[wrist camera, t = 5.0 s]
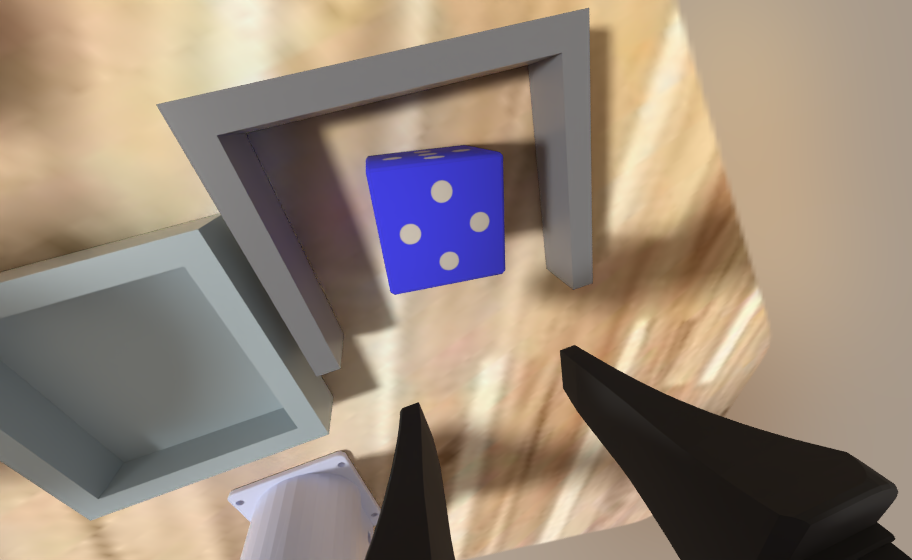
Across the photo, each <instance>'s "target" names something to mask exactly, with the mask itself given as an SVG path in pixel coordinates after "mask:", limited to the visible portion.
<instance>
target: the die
mask: <svg viewBox="0 0 912 560" xmlns="http://www.w3.org/2000/svg"><path fill="white" fill-rule="evenodd" d="M366 175H367V180H368V185H369V190H370V195H371V200H372V204H373V209H374V214H375V219H376V224H377V229H378V233H379V238H380V243H381V248H382V253H383V258H384V263H385V267H386V272H387V277H388V282H389V287H390V292H391V293H393V294H394V295H396V294H401V293H406V292H411V291H416V290H422V289H427V288H432V287H437V286H442V285H447V284H452V283H457V282H462V281H468V280H473V279H478V278H483V277H488V276H493V275H498V274H502V273H503V272H504V271H505V234H504V182H503V155H502V154H501V153H500V152H497V151H492V150H487V149H482V148H477V147H472V146H467V145H461V146H452V147H443V148H435V149H426V150H418V151H409V152H400V153H392V154H383V155H374V156H368V157H367V159H366Z"/></svg>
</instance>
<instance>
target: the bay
mask: <svg viewBox="0 0 912 560" xmlns="http://www.w3.org/2000/svg"><path fill="white" fill-rule="evenodd" d="M527 65H528V70H529V81H530V92H531V103H532V114H533V125H534V137H535V148H536V159H537V170H538V181H539V192H540V203H541V214H542V225H543V236H544V247H545V258H546V269H548V270H549V271H550V272H551V273H553V274H554V275H555V276H556V277H558V278H559V279H560V280H561V281H563V282H564V283H565V284H567V285H568V286H569V287H570V288H572V289H573V290H574V289H577V288H580V287H583V286H586V285H589V284H592V283H593V273H592V193H591V113H590V33H589V8H586V9H581V10H577V11H572V12H568V13H563V14H559V15H555V16H550V17H546V18H541V19H537V20H532V21H528V22H523V23H519V24H514V25H510V26H505V27H501V28H496V29H492V30H487V31H483V32H478V33H474V34H470V35H465V36H461V37H456V38H452V39H447V40H443V41H438V42H434V43H429V44H425V45H420V46H416V47H411V48H407V49H402V50H398V51H393V52H389V53H385V54H380V55H376V56H371V57H367V58H362V59H358V60H353V61H349V62H344V63H340V64H335V65H331V66H326V67H322V68H317V69H313V70H308V71H304V72H300V73H295V74H291V75H286V76H282V77H277V78H273V79H268V80H264V81H259V82H255V83H250V84H246V85H241V86H237V87H232V88H228V89H223V90H219V91H214V92H210V93H206V94H201V95H197V96H192V97H188V98H183V99H179V100H174V101H170V102H165V103H161V104H156V105H157V107H158V109H159V110H160V112H161V114H162V115H163V117H164V119H165V120H166V122H167V124H168V125H169V127H170V129H171V131H172V132H173V134H174V136H175V137H176V139H177V141H178V142H179V144H180V146H181V148H182V149H183V151H184V153H185V154H186V156H187V158H188V159H189V161H190V163H191V165H192V166H193V168H194V170H195V171H196V173H197V175H198V176H199V178H200V180H201V181H202V183H203V185H204V187H205V188H206V190H207V192H208V193H209V195H210V197H211V198H212V200H213V202H214V204H215V205H216V207H217V209H218V210H219V212H220V214H221V215H222V217H223V219H224V220H225V222H226V224H227V226H228V227H229V229H230V231H231V232H232V234H233V236H234V237H235V239H236V241H237V243H238V244H239V246H240V248H241V249H242V251H243V253H244V254H245V256H246V258H247V260H248V261H249V263H250V265H251V266H252V268H253V270H254V271H255V273H256V275H257V276H258V278H259V280H260V282H261V283H262V285H263V287H264V288H265V290H266V292H267V293H268V295H269V297H270V299H271V300H272V302H273V304H274V305H275V307H276V309H277V310H278V312H279V314H280V315H281V317H282V319H283V321H284V322H285V324H286V326H287V327H288V329H289V331H290V332H291V334H292V336H293V338H294V339H295V341H296V343H297V344H298V346H299V348H300V349H301V351H302V353H303V355H304V356H305V358H306V360H307V361H308V363H309V365H310V366H311V368H312V370H313V371H314V373H315V375H316V377H318V376H321V375H324V374H327V373H329V372H332V371H335V370H338V369H340V368H341V359H342V349H343V339H344V334H343V332H342V330H341V328H340V326H339V324H338V322H337V319H336V317H335V315H334V313H333V311H332V309H331V307H330V305H329V303H328V301H327V299H326V297H325V295H324V293H323V291H322V289H321V287H320V285H319V283H318V281H317V279H316V277H315V275H314V272H313V270H312V268H311V266H310V264H309V262H308V260H307V258H306V256H305V254H304V252H303V250H302V248H301V246H300V244H299V242H298V240H297V238H296V236H295V234H294V232H293V230H292V228H291V226H290V223H289V221H288V219H287V217H286V215H285V213H284V211H283V209H282V207H281V205H280V203H279V201H278V199H277V197H276V195H275V193H274V191H273V189H272V187H271V185H270V183H269V181H268V179H267V177H266V174H265V172H264V170H263V168H262V166H261V164H260V162H259V160H258V158H257V156H256V154H255V152H254V150H253V148H252V146H251V144H250V142H249V140H248V138H247V136H246V134H245V133H249V132H253V131H257V130H261V129H266V128H270V127H274V126H278V125H282V124H286V123H290V122H295V121H299V120H303V119H307V118H311V117H315V116H319V115H324V114H328V113H332V112H336V111H340V110H344V109H348V108H353V107H357V106H361V105H365V104H369V103H373V102H377V101H382V100H386V99H390V98H394V97H398V96H402V95H406V94H411V93H415V92H419V91H423V90H427V89H431V88H435V87H440V86H444V85H448V84H452V83H456V82H460V81H464V80H469V79H473V78H477V77H481V76H485V75H489V74H493V73H498V72H502V71H506V70H510V69H514V68H518V67H522V66H527Z"/></svg>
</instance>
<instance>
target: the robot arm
mask: <svg viewBox="0 0 912 560" xmlns="http://www.w3.org/2000/svg"><path fill="white" fill-rule="evenodd" d="M560 356H561V368H562V380H563V389H564V390H565V392H566V394H567V395H568V397H569V399H570V400H571V402H572V404H573V405H574V407H575V408H576V410H577V412H578V413H579V414H580V416H581V417H582V418H583V420H584V421H585V422H586V423H587V425H588V426H589V427H590V429H591V430H592V431H593V432H594V434H595V435H596V436H597V438H598V439H599V440H600V441H601V443H602V444H603V445H604V446H605V448H606V449H607V450H608V451H609V453H610V454H611V455H612V457H613V458H614V459H615V460H616V462H617V463H618V464H619V465H620V467H621V468H622V470H623V471H624V472H625V474H626V475H627V476H628V478H629V479H630V481H631V482H632V484H633V485H634V487H635V488H636V490H637V491H638V493H639V494H640V496H641V497H642V499H643V501H644V502H645V504H646V505H647V507H648V508H649V510H650V511H651V513H652V515H653V516H654V518H655V519H656V521H657V522H658V524H659V526H660V527H661V529H662V530H663V532H664V533H665V535H666V537H667V538H668V540H669V541H670V543H671V545H672V547H673V548H674V550H675V551H676V553H677V555H678V556H679V558H680V559H681V560H912V559H911V558H910V557H909V556H907V555H906V554H905V553H904V552H902V551H901V550H900V549H899V548H897V547H896V546H895V545H894V544H892V543H891V542H893V541H894V540H895V538H894V536H893V534H892V533H890V532H889V531H888V530H886V529H885V528H884V527H882V526H881V525H880V524H879V523H877V521H878V520H879V519H880V518H881V516H882V515H883V514H884V513H885V512H886V510H887V509H888V508H889V507H890V505H891V504H892V503H893V501H894V500H895V498H896V497H897V494H898V490H897V487H896V486H895V484H894V483H892V482H890V481H889V480H888V479H886V478H885V477H883V476H882V475H880V474H879V473H877V472H876V471H874V470H873V469H871V468H870V467H869V466H867V465H866V464H864V463H863V462H861V461H860V460H858V459H857V458H855V457H853V456H852V455H850V454H849V453H847V452H844V451H839V450H835V449H831V448H827V447H823V446H819V445H815V444H811V443H807V442H803V441H799V440H795V439H791V438H788V437H784V436H780V435H778V434H774V433H771V432H767V431H764V430H760V429H757V428H754V427H751V426H748V425H745V424H742V423H739V422H736V421H733V420H730V419H727V418H724V417H721V416H719V415H716V414H713V413H710V412H708V411H705V410H702V409H700V408H697V407H695V406H692V405H690V404H687V403H685V402H683V401H680V400H678V399H675V398H673V397H671V396H669V395H666V394H664V393H662V392H660V391H658V390H656V389H654V388H652V387H650V386H648V385H646V384H644V383H642V382H640V381H638V380H636V379H634V378H632V377H630V376H628V375H626V374H625V373H623V372H621V371H619V370H617V369H615V368H614V367H612V366H610V365H608V364H607V363H605V362H603V361H601V360H600V359H598V358H596V357H594V356H593V355H591V354H589V353H588V352H586V351H584V350H582V349H581V348H579V347H577V346H575V345H573V346H571V347H568V348H565V349H563V350H560ZM228 501H229V502H230V503H231V504H232V505H233V506H234V507H235V508H236V509H237V510H238V511H239V512H241V513H242V514H243V515H244V516H245V517H246V518H247V519H248V520H249V521H250V522H251V523H250V527H249V530H248V534H247V537H246V541H245V544H244V547H243V551H242V554H241V558H240V560H455V557H454V552H453V546H452V541H451V535H450V528H449V522H448V515H447V508H446V501H445V494H444V488H443V481H442V474H441V468H440V463H439V459H438V455H437V451H436V447H435V443H434V439H433V436H432V434H431V431H430V429H429V426H428V424H427V421H426V419H425V416H424V414H423V411H422V409H421V407H420V404H419V402H418V403H415V404H413V405H410V406H407V407H404V408H402V410H401V411H400V422H399V431H398V437H397V444H396V449H395V454H394V459H393V464H392V469H391V474H390V478H389V482H388V486H387V489H386V493H385V497H384V501H383V505H382V508H381V509H380V507H379V505H378V504H377V502H376V501H375V499H374V497H373V496H372V494H371V493H370V491H369V489H368V488H367V486H366V485H365V483H364V482H363V480H362V478H361V477H360V475H359V474H358V472H357V470H356V469H355V467H354V466H353V464H352V462H351V461H350V459H349V458H348V456H347V454H346V453H345V452H342V451H338V452H335V453H332V454H329V455H327V456H324V457H321V458H318V459H316V460H313V461H310V462H308V463H305V464H302V465H300V466H297V467H294V468H291V469H289V470H286V471H283V472H281V473H278V474H275V475H273V476H270V477H267V478H264V479H262V480H259V481H256V482H254V483H251V484H248V485H246V486H243V487H240V488H237V489H235V490H233V491H231V492H230V494H229V496H228ZM373 526H376V528H375V531H374V534H373Z"/></svg>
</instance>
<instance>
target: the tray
mask: <svg viewBox="0 0 912 560" xmlns="http://www.w3.org/2000/svg"><path fill="white" fill-rule="evenodd" d="M332 404H333V396H332V394H331V392H330V391H329V389H328V387H327V385H326V384H325V382H324V380H323V379H322V377H321V376H318V377H316V375H315V373H314V371H313V370H312V368H311V366H310V365H309V363H308V361H307V360H306V358H305V356H304V355H303V353H302V351H301V349H300V348H299V346H298V344H297V343H296V341H295V339H294V338H293V336H292V334H291V332H290V331H289V329H288V327H287V326H286V324H285V322H284V321H283V319H282V317H281V315H280V314H279V312H278V310H277V309H276V307H275V305H274V304H273V302H272V300H271V299H270V297H269V295H268V293H267V292H266V290H265V288H264V287H263V285H262V283H261V282H260V280H259V278H258V276H257V275H256V273H255V271H254V270H253V268H252V266H251V265H250V263H249V261H248V260H247V258H246V256H245V254H244V253H243V251H242V249H241V248H240V246H239V244H238V243H237V241H236V239H235V237H234V236H233V234H232V232H231V231H230V229H229V227H228V226H227V224H226V222H225V220H224V219H223V217H222V215H221V214H220V213H219V214H216V215H212V216H208V217H204V218H201V219H197V220H193V221H189V222H186V223H182V224H178V225H175V226H171V227H167V228H163V229H160V230H156V231H152V232H148V233H145V234H141V235H137V236H134V237H130V238H126V239H122V240H119V241H115V242H111V243H107V244H104V245H100V246H96V247H93V248H89V249H85V250H81V251H78V252H74V253H70V254H66V255H63V256H59V257H55V258H51V259H48V260H44V261H40V262H37V263H33V264H29V265H25V266H22V267H18V268H14V269H10V270H7V271H3V272H0V461H1V462H2V463H4V464H5V465H7V466H8V467H10V468H11V469H13V470H14V471H16V472H17V473H19V474H21V475H22V476H24V477H25V478H27V479H28V480H30V481H31V482H33V483H34V484H36V485H37V486H39V487H40V488H42V489H43V490H45V491H46V492H48V493H49V494H51V495H52V496H54V497H55V498H57V499H58V500H60V501H61V502H63V503H64V504H66V505H67V506H69V507H70V508H72V509H74V510H75V511H77V512H78V513H80V514H81V515H83V516H84V517H86V518H87V519H89V520H90V521H91V520H93V519H96V518H99V517H102V516H104V515H107V514H110V513H113V512H115V511H118V510H121V509H124V508H126V507H129V506H132V505H135V504H137V503H140V502H143V501H146V500H148V499H151V498H154V497H157V496H160V495H162V494H165V493H168V492H171V491H173V490H176V489H179V488H182V487H184V486H187V485H190V484H193V483H195V482H198V481H201V480H204V479H206V478H209V477H212V476H215V475H217V474H220V473H223V472H226V471H228V470H231V469H234V468H237V467H240V466H242V465H245V464H248V463H251V462H253V461H256V460H259V459H262V458H264V457H267V456H270V455H273V454H275V453H278V452H281V451H284V450H286V449H289V448H292V447H295V446H297V445H300V444H303V443H306V442H308V441H311V440H314V439H317V438H320V437H322V436H325V435H328V434H329V429H330V421H331V412H332Z"/></svg>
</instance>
